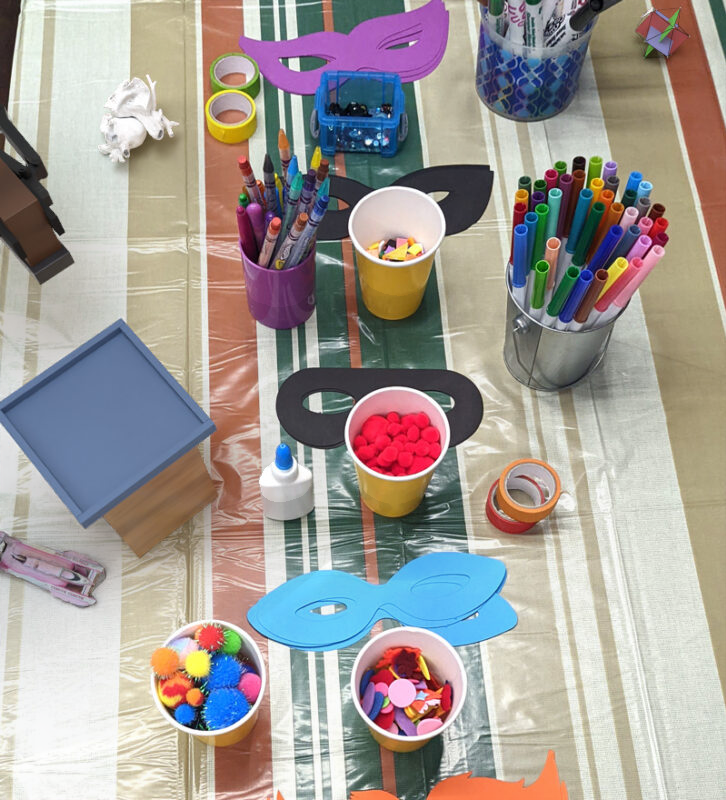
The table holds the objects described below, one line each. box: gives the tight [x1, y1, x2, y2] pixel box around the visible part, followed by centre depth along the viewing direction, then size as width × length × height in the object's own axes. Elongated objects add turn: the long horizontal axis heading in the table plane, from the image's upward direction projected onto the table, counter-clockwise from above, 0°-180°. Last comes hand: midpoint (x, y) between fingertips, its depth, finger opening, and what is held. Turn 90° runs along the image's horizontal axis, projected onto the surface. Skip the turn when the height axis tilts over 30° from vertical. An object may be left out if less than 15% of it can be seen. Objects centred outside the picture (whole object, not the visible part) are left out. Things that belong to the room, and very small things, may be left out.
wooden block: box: [102, 445, 220, 559], centre depth 99 cm, size 12×12×20 cm
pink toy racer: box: [0, 530, 106, 609], centre depth 102 cm, size 13×6×4 cm, turn 72°
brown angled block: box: [0, 158, 76, 286], centre depth 95 cm, size 10×5×10 cm, turn 41°
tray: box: [0, 317, 218, 530], centre depth 89 cm, size 16×16×2 cm
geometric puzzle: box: [634, 5, 691, 59], centre depth 131 cm, size 7×7×8 cm
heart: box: [97, 74, 180, 164], centre depth 125 cm, size 12×7×12 cm
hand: (39, 238), depth 92 cm, fingers closed on brown angled block, 4 cm apart
